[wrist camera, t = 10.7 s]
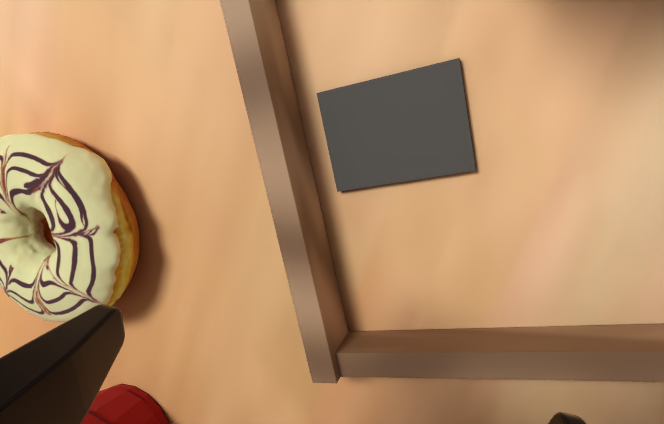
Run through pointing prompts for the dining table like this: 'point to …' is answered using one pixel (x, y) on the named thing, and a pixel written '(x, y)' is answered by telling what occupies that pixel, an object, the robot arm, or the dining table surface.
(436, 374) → the brown flat frame
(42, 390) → the robot arm
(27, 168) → the decorated donut
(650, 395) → the dining table surface
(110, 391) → the plastic cup
